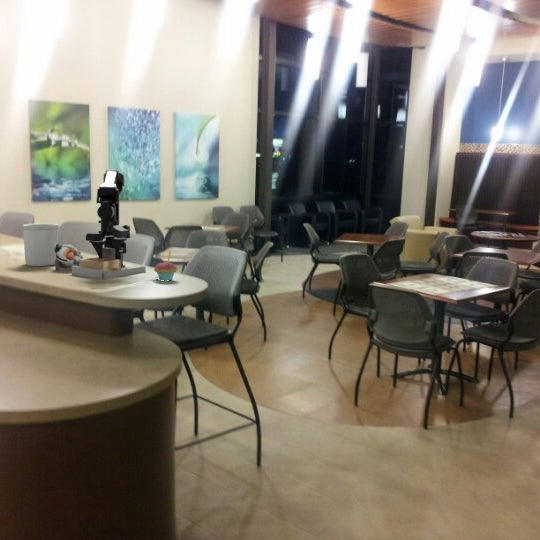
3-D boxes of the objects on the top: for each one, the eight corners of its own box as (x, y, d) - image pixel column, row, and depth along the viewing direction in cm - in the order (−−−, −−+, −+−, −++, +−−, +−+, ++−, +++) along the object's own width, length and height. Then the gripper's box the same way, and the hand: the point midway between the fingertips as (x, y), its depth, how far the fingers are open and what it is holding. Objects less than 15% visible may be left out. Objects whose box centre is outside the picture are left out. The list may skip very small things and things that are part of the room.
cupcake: (180, 279, 231) (180, 249, 229) (170, 283, 223) (170, 251, 221) (161, 277, 234) (161, 247, 232) (150, 281, 226) (150, 250, 224)
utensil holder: (16, 264, 255) (14, 224, 252) (41, 260, 269) (40, 222, 266) (42, 267, 250) (41, 226, 247) (66, 263, 263) (66, 224, 261)
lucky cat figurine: (95, 269, 248) (92, 242, 240) (74, 284, 240) (70, 256, 231) (69, 256, 254) (65, 229, 245) (47, 270, 245) (43, 243, 237)
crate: (99, 271, 237) (99, 246, 235) (122, 274, 231) (121, 249, 230) (79, 274, 228) (78, 249, 226) (102, 278, 222) (101, 251, 220)
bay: (114, 270, 248) (114, 259, 247) (145, 274, 240) (145, 263, 239) (71, 277, 228) (71, 266, 227) (104, 282, 220) (103, 270, 219)
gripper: (105, 220, 218) (106, 262, 220) (140, 218, 234) (140, 257, 236) (84, 218, 223) (85, 259, 226) (119, 216, 239) (119, 254, 242)
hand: (108, 257), depth 232 cm, fingers open, 8 cm apart
